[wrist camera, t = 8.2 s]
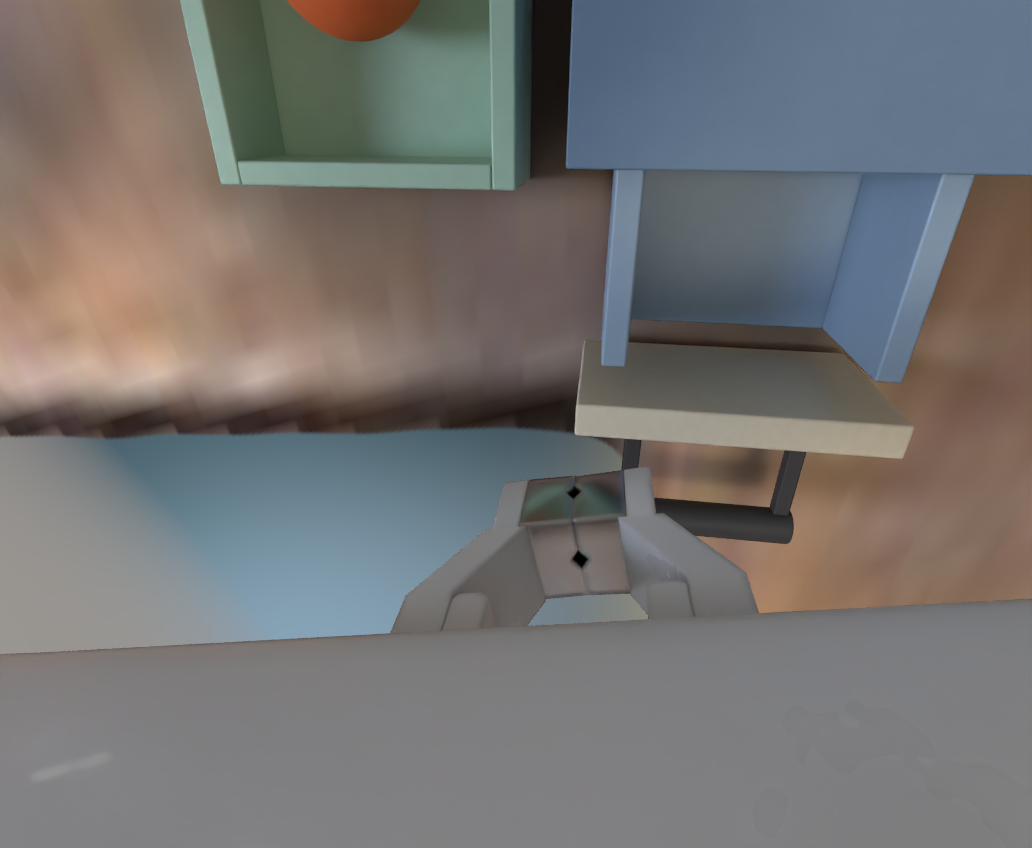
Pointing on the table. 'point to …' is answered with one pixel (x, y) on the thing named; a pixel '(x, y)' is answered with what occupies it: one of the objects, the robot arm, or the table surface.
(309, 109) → the tote
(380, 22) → the ball
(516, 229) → the table surface
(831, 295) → the drawer
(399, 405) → the table surface
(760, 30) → the cabinet
